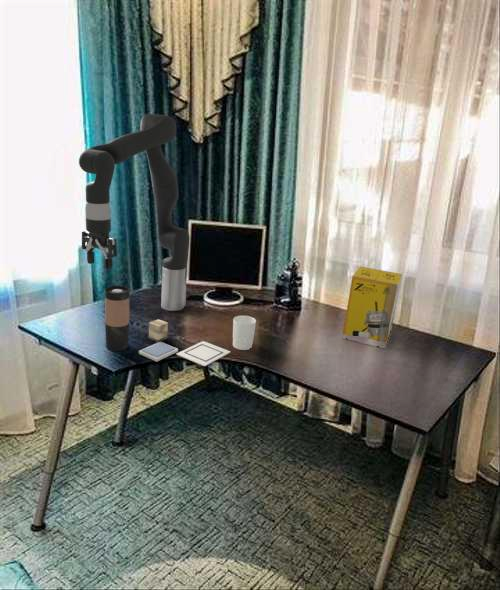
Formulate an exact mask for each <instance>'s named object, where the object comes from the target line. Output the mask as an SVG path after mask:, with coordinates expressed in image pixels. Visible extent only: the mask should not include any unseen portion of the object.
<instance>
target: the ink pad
mask: <svg viewBox="0 0 500 590" xmlns="http://www.w3.org/2000/svg"><path fill="white" fill-rule="evenodd" d="M177 353H179V348H177V347H174V346H172V345H169V344H167V343H165V342H163V341H161V342H156V343H154V344H151V345H149V346H147V347H144V348H143V349H140V350H138V354H139V355H140V356H143V357H145V358H147V359H150V360H152V361H154V362H156V363H157V362H159V361H161V360H163V359H165V358H167V357H169V356H172V355H173V354H174V355H175V354H177Z"/></svg>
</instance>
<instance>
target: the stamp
mask: <svg viewBox="0 0 500 590" xmlns="http://www.w3.org/2000/svg"><path fill="white" fill-rule="evenodd" d="M168 327H169V323H168V322H167V321H165V320H161V319H155V320H152V321H150V322H148V336H147V339H149V340H152V341H153V342H156V343H159V342H163V341H165V340H167V339H168V338H169V336H168Z"/></svg>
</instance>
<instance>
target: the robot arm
mask: <svg viewBox="0 0 500 590" xmlns="http://www.w3.org/2000/svg"><path fill="white" fill-rule="evenodd" d="M176 134H177V125H176V121H175V120H174V118H173V117H171V116H169V115H166V114H157V113H156V114H155V113H147V114H144V115H143V116H142V118H141V120H140V131H135V132H130V133H127V134H123V135H120V136H119V137H117V138H114V139H112V140H110V141H109V142H108V143H107V142H106V143H102V144H99V145H96V146H91V147H89V148H87V149H84V150H83V151H82V153H80V154H79V157H78V158H79V159H78V165H79V168H80V169H81V170H82V171H83V172H85V173H86V174H91V175H92V174H93V175H95V177H94V180H93V181H90V182H87V184H86V185H85V207H84V208H85V212H84V213H85V230H84V231H83V230H82V232H81V249H82V250H84V251H85V252H86V260H87V264H89V265H91V264H95V250H96V249H97V250H99V251H100V253H102V254H103V257H104V269H105V270H107V271H108V270H112V268H113V258H117V257H118V249H117V238H115V237H114V238H111V237H110V236H109V234H110V233H111V232H112V215H111V214H112V213H111V211H112V210H111V203H110V201H111V200H110V198H111V197H110V188H111V185H112V180H113V177H114V173H115V165H119V164H122V163H124V162H126V161H127V160H129V159H131V158H132V157H134V156H136V155H138V154H140V153H142V152H144V151H145V153H146V157H147V162H148V169H149V172H150V179H151V185H152V186H151V187H152V191H153V198H154V203H155V211H156V217H157V218H156V220H157V233H158V234H157V235H158V241H159V244H160V246H161V247H162V248H163V249H166V250H168V251H172V256H169V257H166V258H164V259H163V260H162V269H161V270H162V274H161V275H162V276H161V295H160V296H161V297H160V298H161V302H160V303H161V304H160V307H161V309H163V310H165V311H170V312H176V311H182V310H183V309H184V308H185V307H186V302H187V301H186V299H187V297H186V296H187V284H186V268H187V267H186V266H187V262H188V260H189V259H188V258H189V250H190V249H189V248H190V240H191V239H190V233H189V231H188V230H187V229H185V228H183V227H179V226H174V225H173V220H172V219H173V218H172V212H173V209H174V208H175V205H176V203H177V201H178V198H179V184H178V179H177V174H176V173H175V171H174V170H173V168H172V166H171V165H170V163H169V162H168V160H167V159H166V157H165V155H164V153H163V150H162V145H164V144H167V143H170V142H172V141H173V140H174V139H175V137H176Z"/></svg>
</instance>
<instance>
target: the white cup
mask: <svg viewBox="0 0 500 590" xmlns="http://www.w3.org/2000/svg"><path fill="white" fill-rule="evenodd" d="M232 320H233V321H232V346H233V348H235V349H237V350H240V351H249V350H250V348H251V349H252V347H253V342H254V339H255V338H254V337H255V333H256V332H255V331H256V324H257V320H256V318H254V317H252V316H250V315H237V316H234V317H233V319H232Z"/></svg>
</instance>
